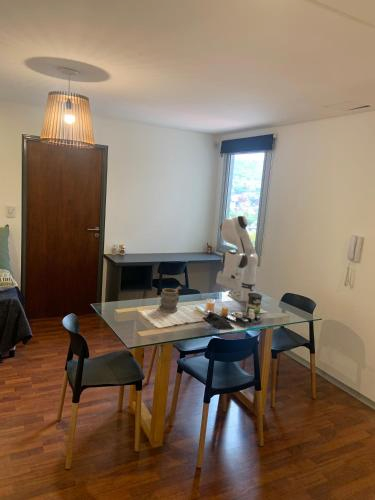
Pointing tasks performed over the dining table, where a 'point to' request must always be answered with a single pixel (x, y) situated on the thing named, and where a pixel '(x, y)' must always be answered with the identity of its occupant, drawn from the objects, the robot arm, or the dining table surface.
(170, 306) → the tankard
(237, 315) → the toggle left
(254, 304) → the coffee can
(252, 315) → the toggle tagged
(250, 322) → the breaker panel
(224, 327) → the dark slate chunk
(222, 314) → the lockout cap
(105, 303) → the dining table surface
